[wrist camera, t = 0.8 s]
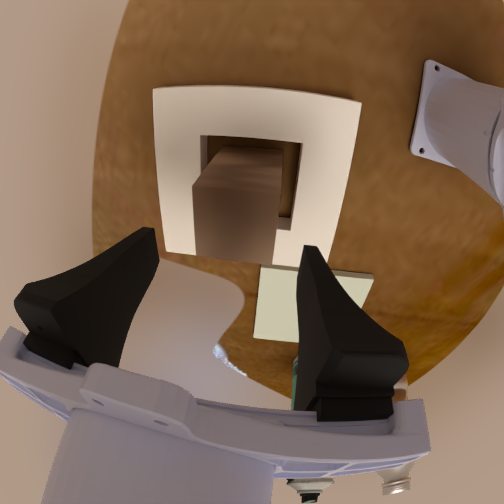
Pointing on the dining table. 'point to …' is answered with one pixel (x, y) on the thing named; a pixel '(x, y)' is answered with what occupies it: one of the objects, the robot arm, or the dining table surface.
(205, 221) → the walnut block
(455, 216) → the dining table surface
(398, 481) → the plastic bottle
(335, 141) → the socket board
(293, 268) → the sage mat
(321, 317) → the robot arm
